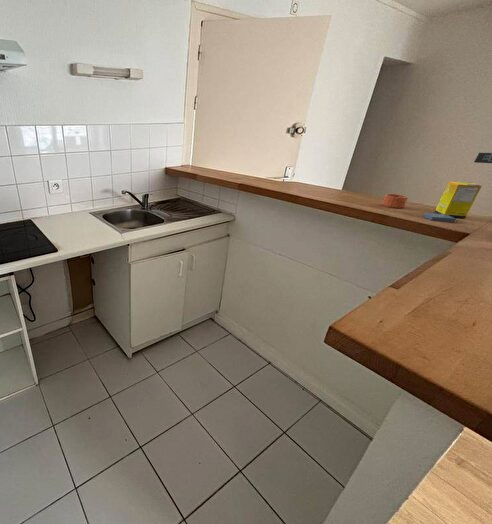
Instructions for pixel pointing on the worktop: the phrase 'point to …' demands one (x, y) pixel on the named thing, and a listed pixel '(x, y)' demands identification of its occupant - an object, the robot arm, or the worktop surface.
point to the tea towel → (439, 217)
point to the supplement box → (458, 199)
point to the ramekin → (394, 200)
